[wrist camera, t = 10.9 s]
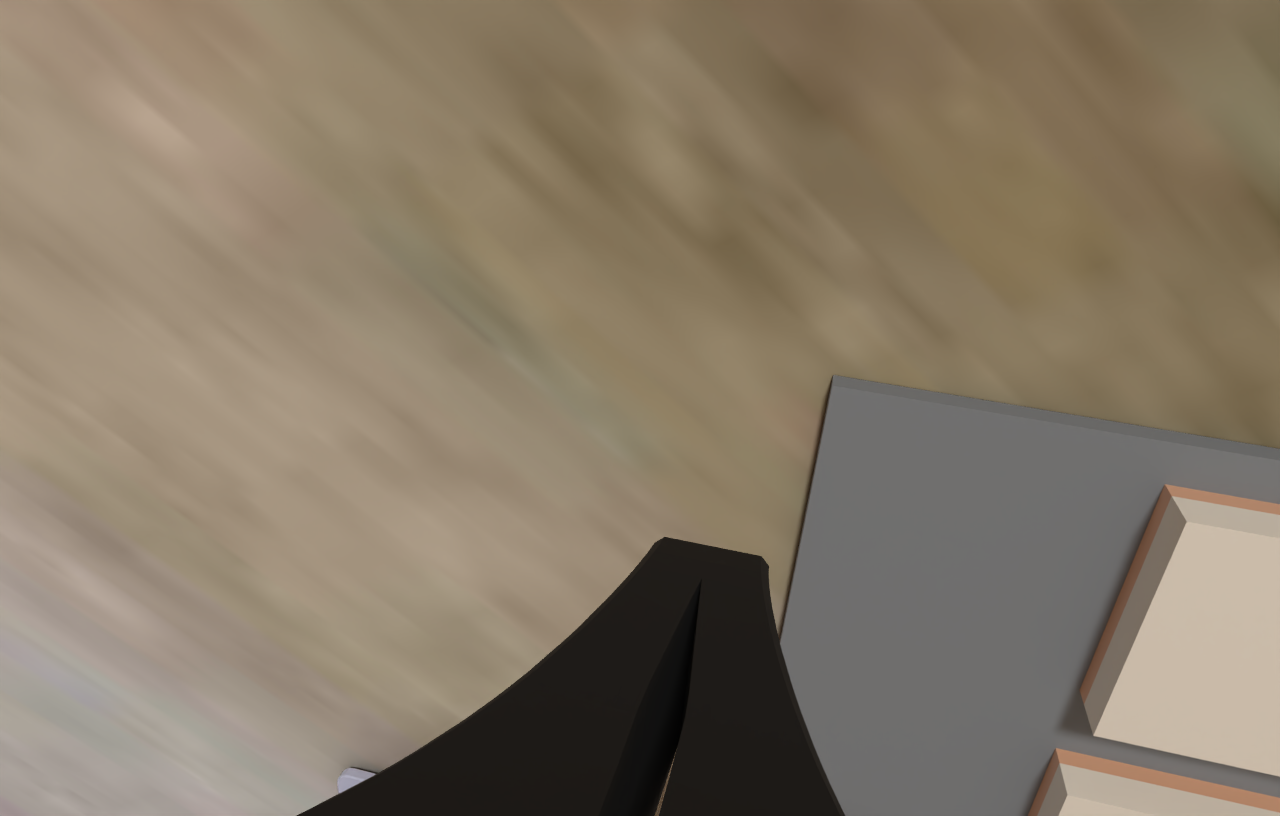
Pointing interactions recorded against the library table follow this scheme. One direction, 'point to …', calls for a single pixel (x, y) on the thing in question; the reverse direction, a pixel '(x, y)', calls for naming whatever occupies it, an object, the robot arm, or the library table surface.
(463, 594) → the library table surface
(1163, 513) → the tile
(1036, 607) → the slate mat
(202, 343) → the library table surface
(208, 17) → the library table surface
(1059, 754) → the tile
